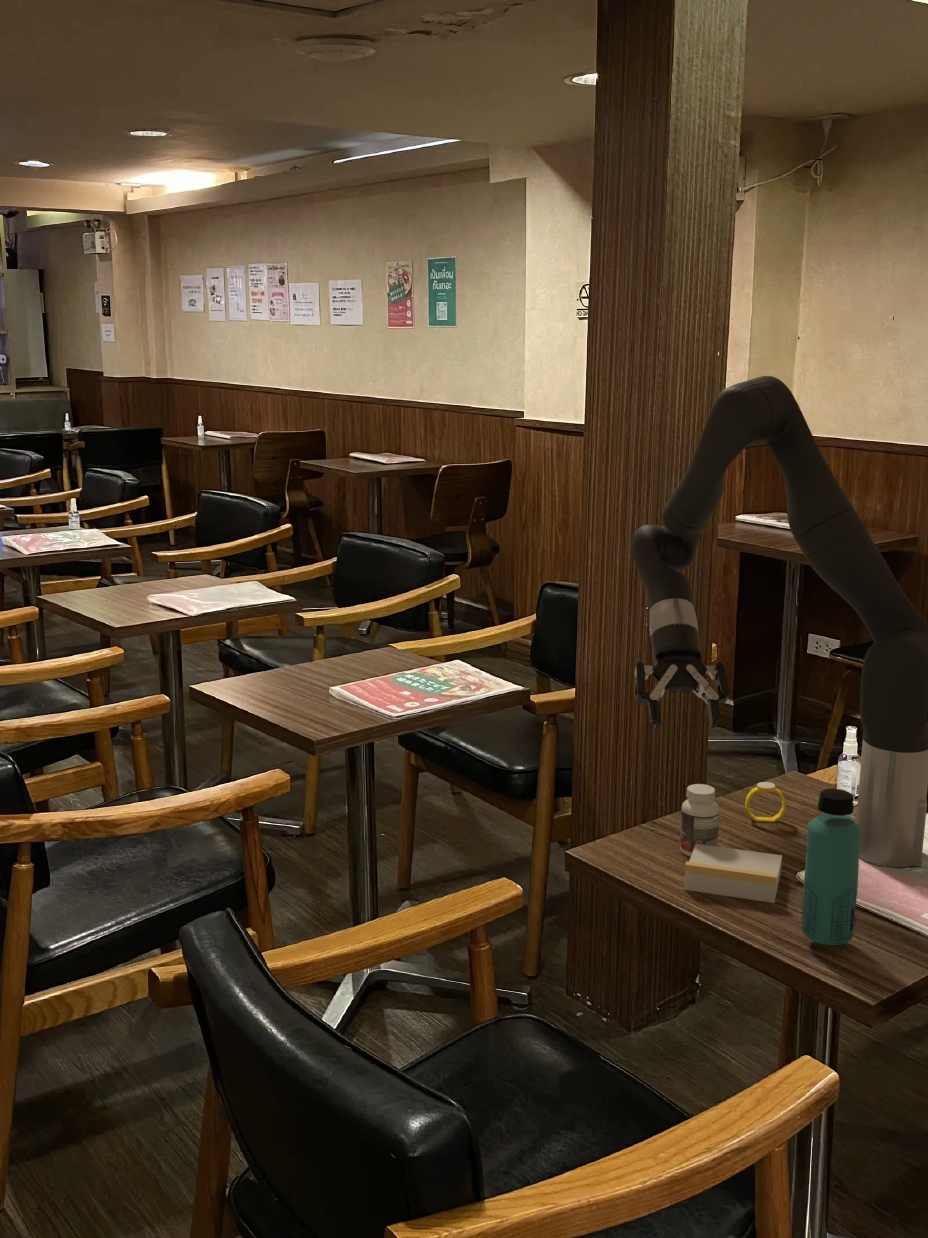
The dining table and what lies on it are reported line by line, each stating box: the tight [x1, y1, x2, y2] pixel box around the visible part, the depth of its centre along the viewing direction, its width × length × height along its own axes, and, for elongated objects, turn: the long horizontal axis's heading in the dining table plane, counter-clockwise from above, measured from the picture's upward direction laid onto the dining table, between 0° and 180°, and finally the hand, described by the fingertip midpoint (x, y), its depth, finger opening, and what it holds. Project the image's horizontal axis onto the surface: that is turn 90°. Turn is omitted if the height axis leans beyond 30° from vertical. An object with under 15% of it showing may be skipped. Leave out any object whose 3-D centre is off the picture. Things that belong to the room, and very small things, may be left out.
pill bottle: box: [679, 783, 720, 858], centre depth 173 cm, size 5×5×10 cm
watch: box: [744, 781, 787, 823], centre depth 185 cm, size 6×3×6 cm, turn 83°
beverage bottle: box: [800, 788, 861, 946], centre depth 146 cm, size 6×7×20 cm
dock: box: [683, 844, 783, 904], centre depth 165 cm, size 12×10×4 cm
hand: (686, 726), depth 182 cm, fingers open, 8 cm apart
